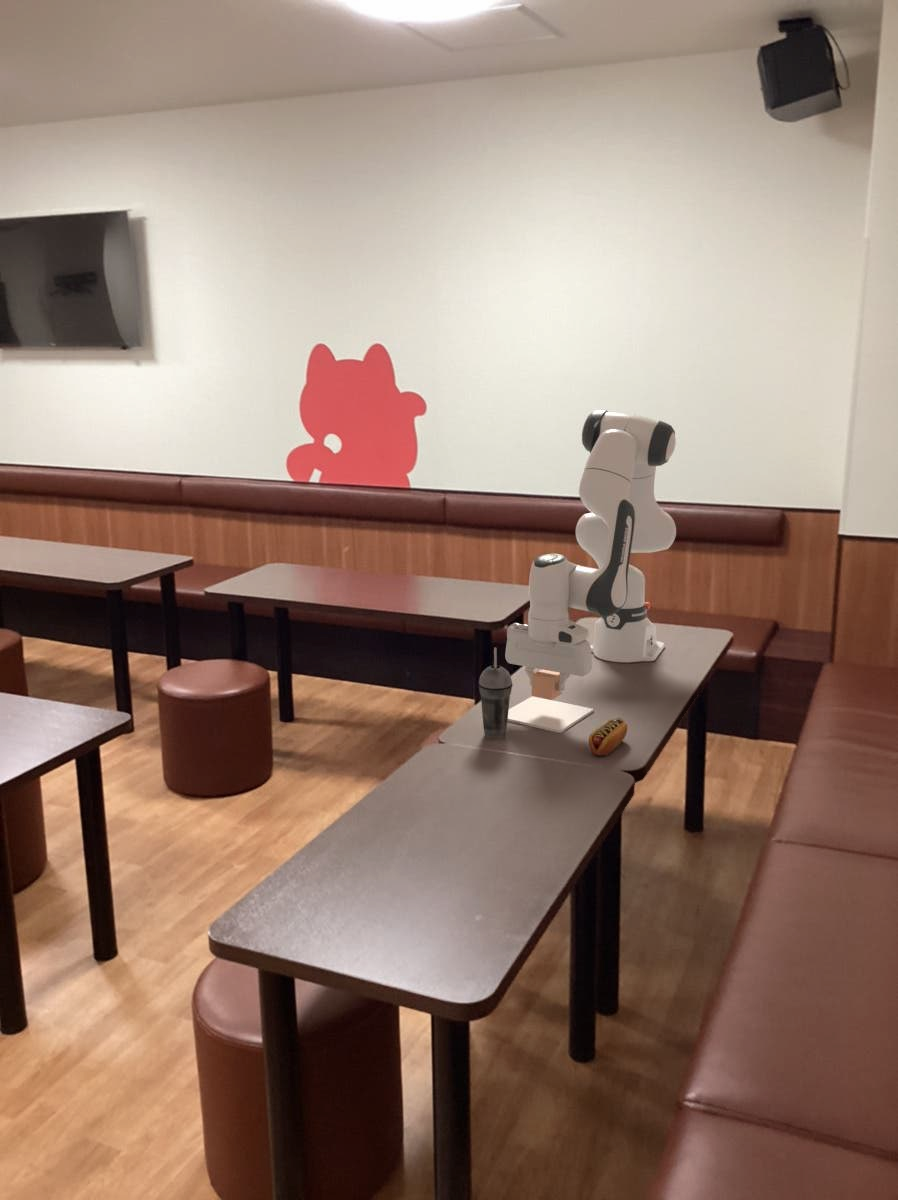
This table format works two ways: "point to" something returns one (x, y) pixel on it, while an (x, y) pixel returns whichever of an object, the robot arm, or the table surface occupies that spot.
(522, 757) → the table surface
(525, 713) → the mat
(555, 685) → the robot arm
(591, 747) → the hot dog
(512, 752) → the table surface
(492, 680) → the beverage cup
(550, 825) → the table surface
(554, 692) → the cube
